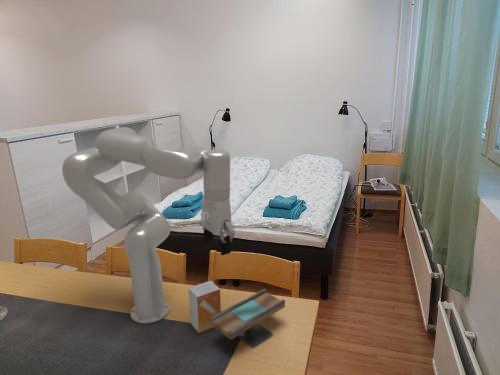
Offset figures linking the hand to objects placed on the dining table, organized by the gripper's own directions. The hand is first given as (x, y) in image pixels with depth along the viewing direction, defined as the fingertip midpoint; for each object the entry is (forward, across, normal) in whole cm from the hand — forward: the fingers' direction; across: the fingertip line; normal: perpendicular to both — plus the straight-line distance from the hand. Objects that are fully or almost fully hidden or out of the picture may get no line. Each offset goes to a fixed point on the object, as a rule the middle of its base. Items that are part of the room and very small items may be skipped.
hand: (216, 247), depth 109 cm
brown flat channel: (+20, +10, +6) cm, 23 cm away
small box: (+27, -2, -3) cm, 27 cm away
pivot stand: (+26, +10, +6) cm, 29 cm away
